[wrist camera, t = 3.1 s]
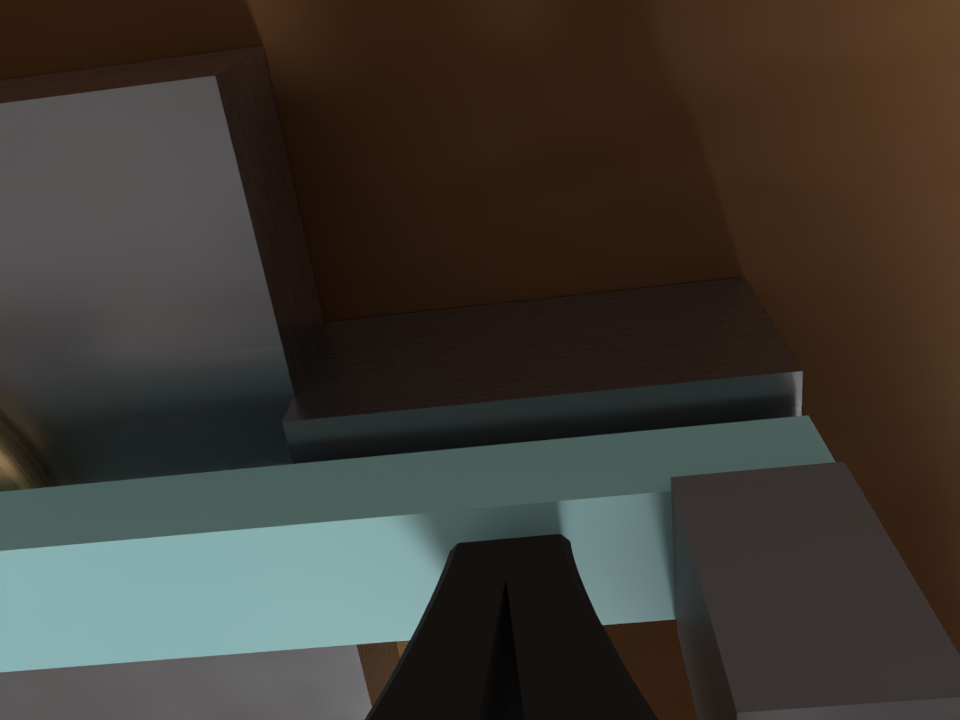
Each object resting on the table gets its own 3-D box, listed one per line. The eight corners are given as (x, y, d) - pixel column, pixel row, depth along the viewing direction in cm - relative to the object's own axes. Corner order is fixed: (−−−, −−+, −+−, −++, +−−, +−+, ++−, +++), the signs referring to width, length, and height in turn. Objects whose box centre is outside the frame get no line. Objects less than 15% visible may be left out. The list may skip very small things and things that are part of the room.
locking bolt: (808, 402, 12) (983, 694, 8) (803, 549, 13) (953, 881, 9) (-80, 487, 13) (-380, 791, 9) (-17, 617, 14) (-255, 947, 10)
